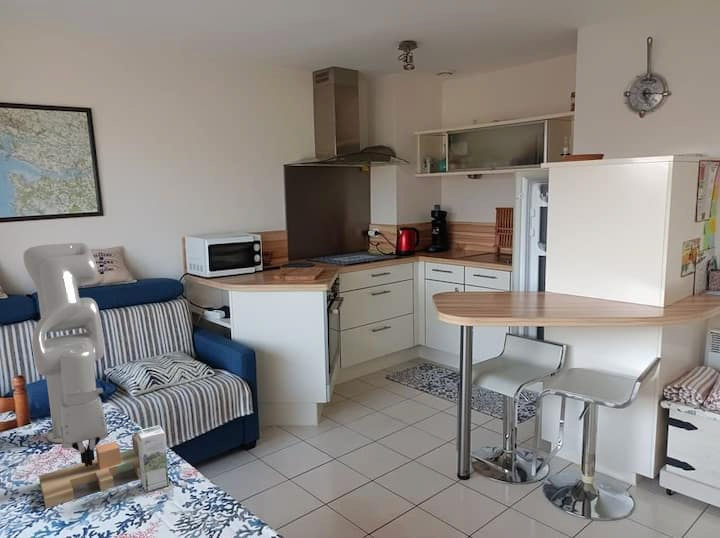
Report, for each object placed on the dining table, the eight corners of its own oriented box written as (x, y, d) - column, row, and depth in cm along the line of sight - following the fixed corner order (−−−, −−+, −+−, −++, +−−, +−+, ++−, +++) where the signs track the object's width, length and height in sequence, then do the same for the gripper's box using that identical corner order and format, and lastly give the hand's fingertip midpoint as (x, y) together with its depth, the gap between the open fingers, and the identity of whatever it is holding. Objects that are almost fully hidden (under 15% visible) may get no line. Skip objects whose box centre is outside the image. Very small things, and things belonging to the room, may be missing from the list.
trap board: (40, 484, 139) (37, 460, 138) (137, 456, 153) (135, 434, 152) (45, 508, 127) (42, 482, 127) (150, 475, 141) (148, 451, 140)
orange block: (97, 462, 144) (95, 446, 144) (117, 456, 147) (115, 441, 147) (100, 469, 140) (98, 453, 140) (121, 463, 143) (119, 447, 143)
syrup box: (164, 476, 140) (159, 423, 138) (169, 486, 135) (164, 431, 133) (141, 483, 137) (135, 429, 135) (146, 493, 132) (140, 437, 130)
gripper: (109, 386, 146) (116, 450, 149) (46, 399, 138) (54, 467, 140) (114, 393, 140) (121, 460, 142) (49, 408, 132) (57, 479, 134)
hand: (88, 463), depth 141 cm, fingers closed
